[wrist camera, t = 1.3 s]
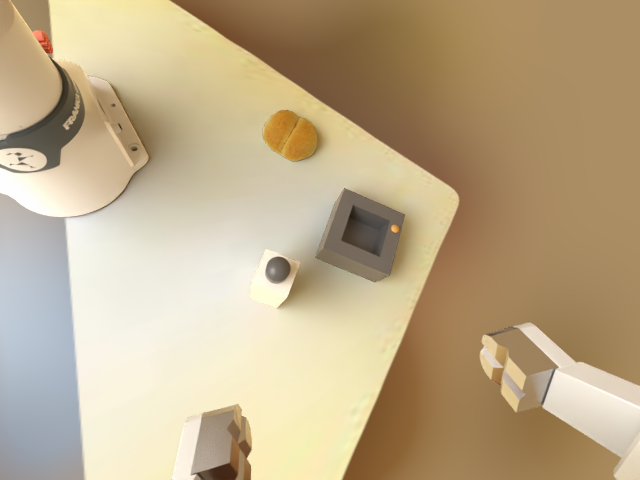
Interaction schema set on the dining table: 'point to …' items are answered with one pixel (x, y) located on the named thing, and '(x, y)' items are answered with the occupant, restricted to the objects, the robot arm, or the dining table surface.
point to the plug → (273, 279)
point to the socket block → (361, 236)
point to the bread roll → (290, 135)
